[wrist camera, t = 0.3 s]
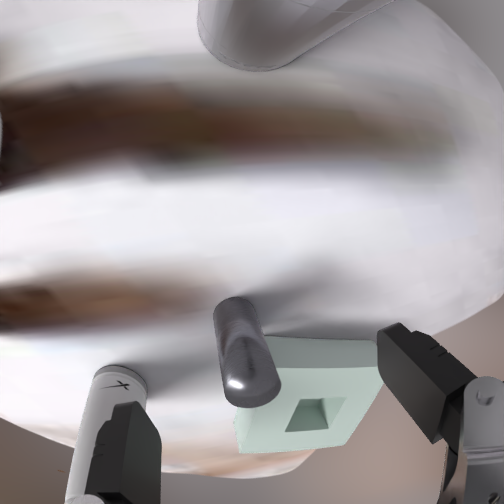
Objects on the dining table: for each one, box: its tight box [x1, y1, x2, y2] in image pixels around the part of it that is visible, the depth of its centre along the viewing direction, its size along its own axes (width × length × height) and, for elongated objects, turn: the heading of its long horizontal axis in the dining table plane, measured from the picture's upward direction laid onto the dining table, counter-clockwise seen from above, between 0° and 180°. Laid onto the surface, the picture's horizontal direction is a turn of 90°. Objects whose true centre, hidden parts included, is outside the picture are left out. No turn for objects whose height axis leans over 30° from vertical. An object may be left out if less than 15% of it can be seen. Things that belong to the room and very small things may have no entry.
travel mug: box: [64, 366, 147, 504], centre depth 21 cm, size 6×7×20 cm
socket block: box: [234, 336, 384, 453], centre depth 33 cm, size 14×14×5 cm
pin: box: [213, 297, 281, 408], centre depth 25 cm, size 4×4×10 cm
